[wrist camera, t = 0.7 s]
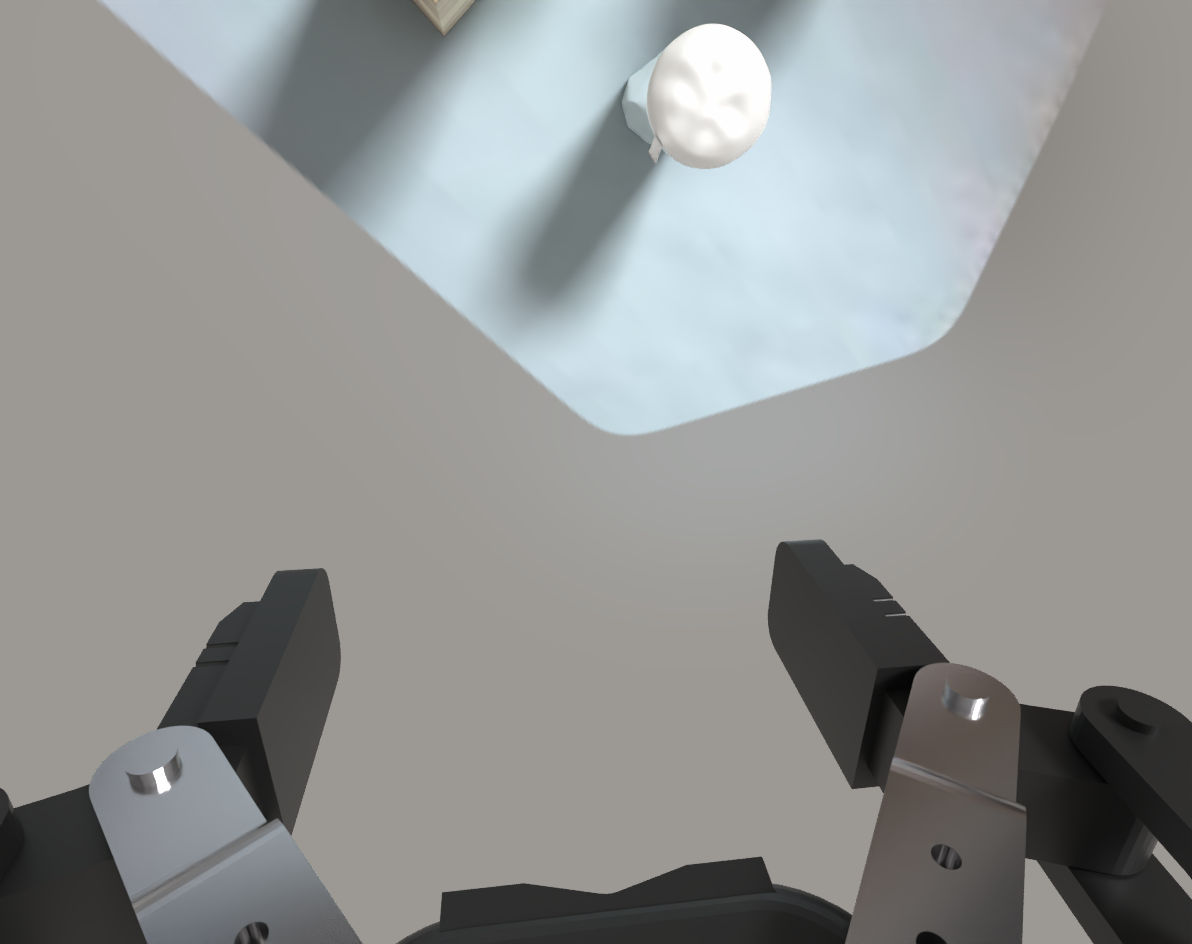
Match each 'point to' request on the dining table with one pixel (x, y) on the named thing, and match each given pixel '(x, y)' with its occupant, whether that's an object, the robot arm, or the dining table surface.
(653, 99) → the milkshake
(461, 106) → the dining table surface
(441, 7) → the beech block
